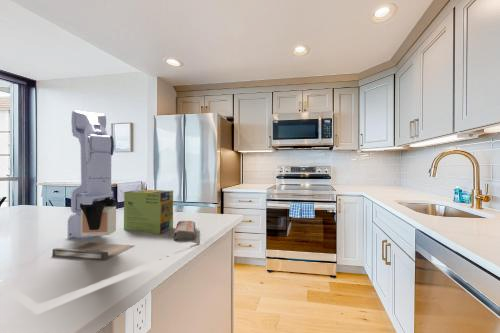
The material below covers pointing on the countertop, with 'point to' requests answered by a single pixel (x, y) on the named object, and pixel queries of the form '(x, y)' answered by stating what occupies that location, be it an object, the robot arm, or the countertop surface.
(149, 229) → the protein box
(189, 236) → the packaged product
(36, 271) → the countertop surface
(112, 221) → the carton
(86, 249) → the shelf
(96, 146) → the robot arm
